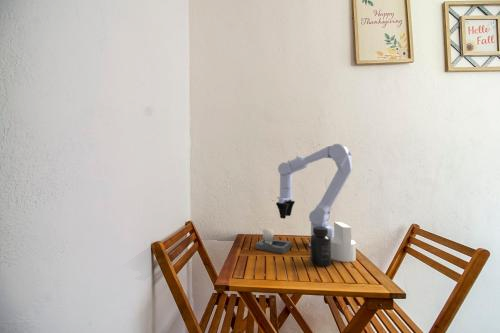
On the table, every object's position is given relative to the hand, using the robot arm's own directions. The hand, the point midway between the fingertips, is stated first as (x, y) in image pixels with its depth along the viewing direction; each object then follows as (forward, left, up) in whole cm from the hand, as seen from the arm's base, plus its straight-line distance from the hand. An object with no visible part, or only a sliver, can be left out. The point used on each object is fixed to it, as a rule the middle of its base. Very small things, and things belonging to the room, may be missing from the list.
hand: (285, 217), depth 106 cm
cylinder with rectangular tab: (-26, +12, -10) cm, 30 cm away
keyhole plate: (0, +15, -10) cm, 18 cm away
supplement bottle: (-20, +22, -10) cm, 31 cm away
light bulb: (+2, +15, -10) cm, 18 cm away
